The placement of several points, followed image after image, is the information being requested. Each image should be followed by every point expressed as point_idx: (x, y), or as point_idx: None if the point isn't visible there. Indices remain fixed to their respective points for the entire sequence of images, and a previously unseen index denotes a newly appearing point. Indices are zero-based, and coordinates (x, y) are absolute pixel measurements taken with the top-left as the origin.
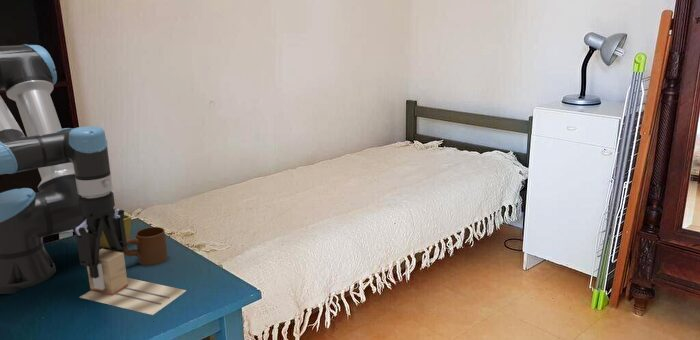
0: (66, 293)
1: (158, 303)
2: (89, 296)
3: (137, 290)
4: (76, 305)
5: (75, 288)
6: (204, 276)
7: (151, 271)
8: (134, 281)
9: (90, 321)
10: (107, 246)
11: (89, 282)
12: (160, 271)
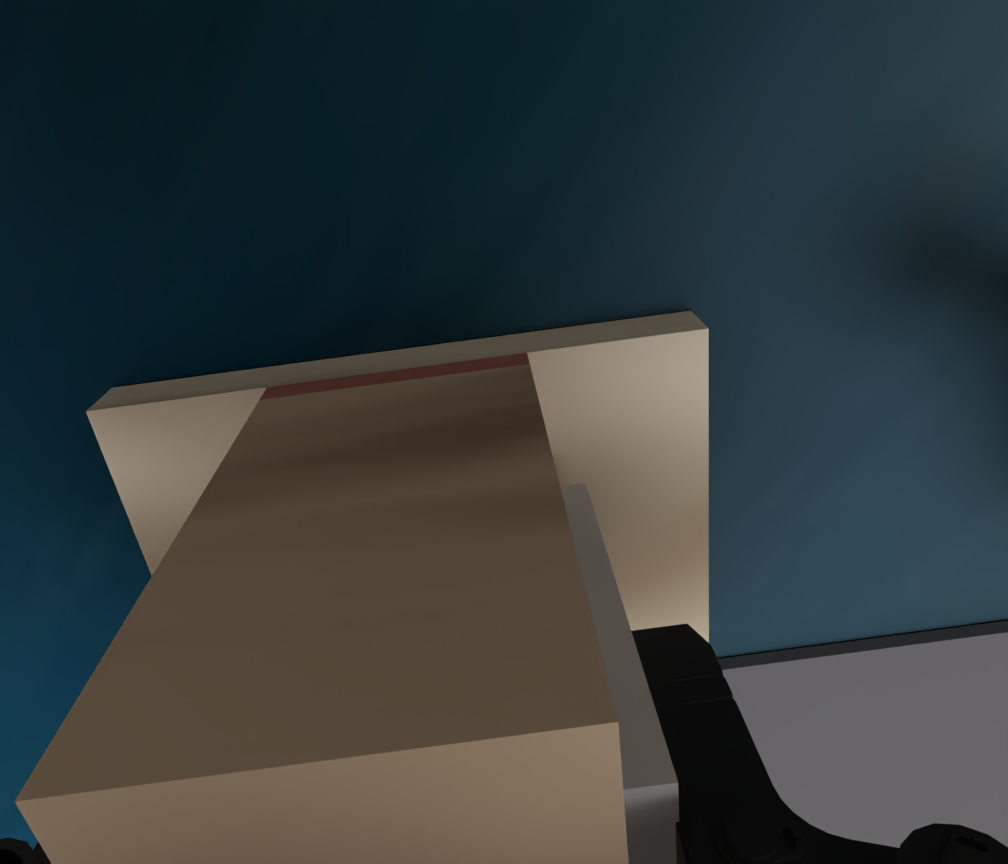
0: (93, 23)
1: None
2: (181, 492)
3: None
4: (50, 421)
5: (252, 3)
6: None
7: (984, 479)
8: (667, 612)
9: (21, 740)
10: None
11: (236, 440)
12: (1004, 553)
